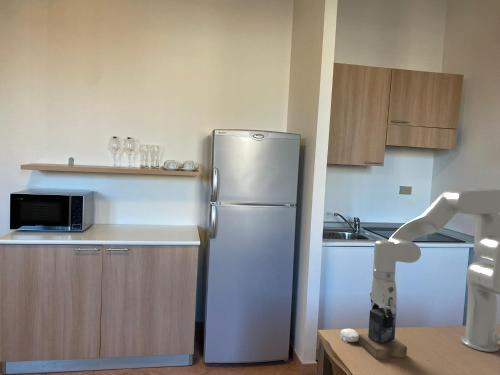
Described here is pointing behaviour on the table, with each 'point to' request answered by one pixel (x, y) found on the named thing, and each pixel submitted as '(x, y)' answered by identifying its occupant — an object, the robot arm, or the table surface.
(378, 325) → the box
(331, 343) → the table surface
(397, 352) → the walnut block
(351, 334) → the garlic
